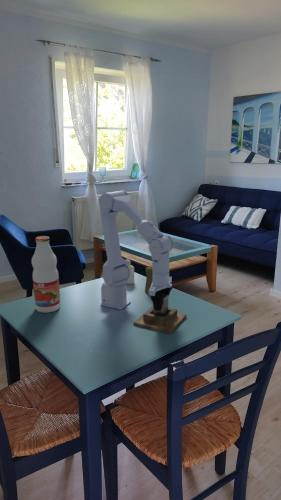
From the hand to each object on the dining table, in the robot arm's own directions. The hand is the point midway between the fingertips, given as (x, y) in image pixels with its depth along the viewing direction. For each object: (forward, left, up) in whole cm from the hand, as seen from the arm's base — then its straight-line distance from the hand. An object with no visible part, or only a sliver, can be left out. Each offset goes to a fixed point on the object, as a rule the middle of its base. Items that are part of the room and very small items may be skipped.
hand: (160, 307), depth 133 cm
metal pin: (0, 0, -3) cm, 3 cm away
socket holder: (0, 0, -5) cm, 5 cm away
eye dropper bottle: (-29, +27, -5) cm, 40 cm away
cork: (-15, +23, -5) cm, 28 cm away
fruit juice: (-43, -10, -5) cm, 44 cm away
